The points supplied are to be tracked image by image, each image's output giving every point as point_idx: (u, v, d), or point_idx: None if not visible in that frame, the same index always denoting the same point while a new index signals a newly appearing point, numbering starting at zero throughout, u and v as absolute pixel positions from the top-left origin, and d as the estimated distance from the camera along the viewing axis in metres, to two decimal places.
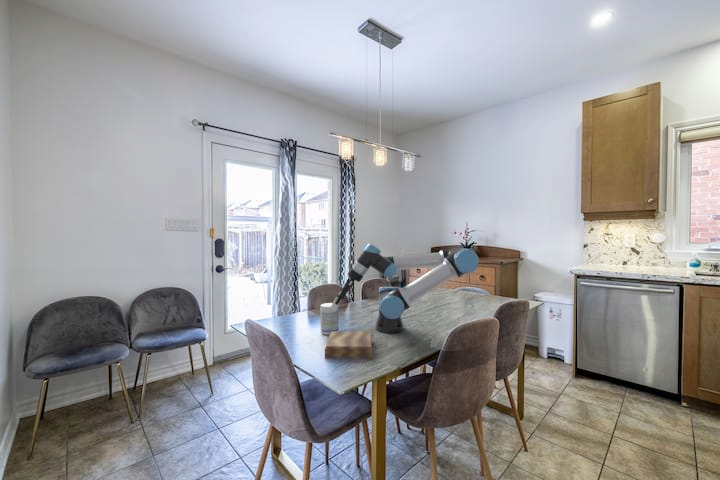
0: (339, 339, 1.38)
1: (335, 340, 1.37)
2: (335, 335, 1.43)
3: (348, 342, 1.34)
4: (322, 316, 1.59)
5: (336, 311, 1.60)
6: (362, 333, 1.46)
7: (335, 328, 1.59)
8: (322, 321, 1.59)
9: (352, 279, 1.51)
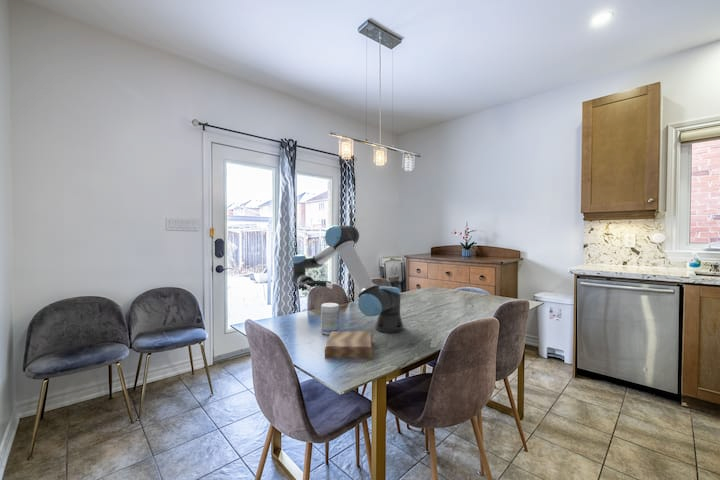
0: (339, 339, 1.38)
1: (335, 340, 1.37)
2: (335, 335, 1.43)
3: (348, 342, 1.34)
4: (322, 316, 1.59)
5: (336, 311, 1.59)
6: (362, 333, 1.46)
7: (335, 328, 1.59)
8: (322, 321, 1.59)
9: (302, 283, 1.82)
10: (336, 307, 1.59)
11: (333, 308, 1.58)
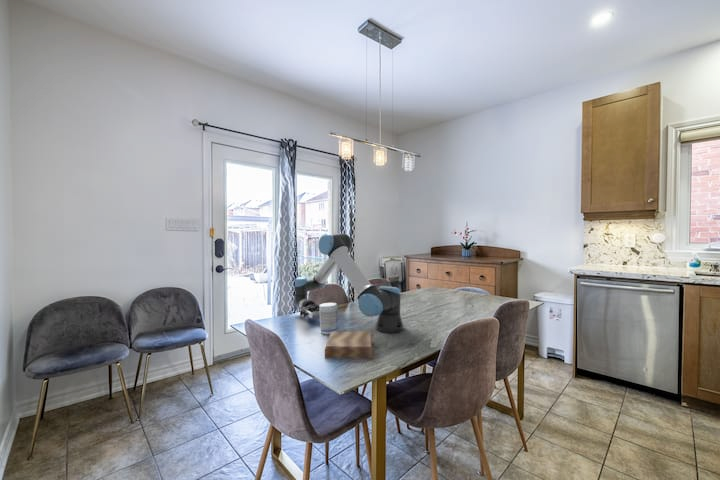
0: (339, 339, 1.38)
1: (335, 340, 1.37)
2: (335, 335, 1.43)
3: (348, 342, 1.34)
4: (320, 316, 1.60)
5: (334, 311, 1.59)
6: (362, 333, 1.46)
7: (333, 327, 1.59)
8: (321, 321, 1.60)
9: None
10: (333, 306, 1.59)
11: (330, 307, 1.58)
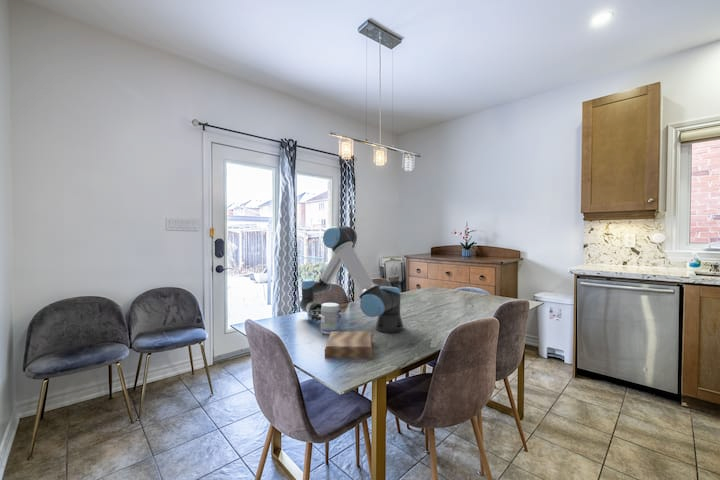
0: (339, 339, 1.38)
1: (335, 340, 1.37)
2: (335, 335, 1.43)
3: (348, 342, 1.34)
4: (322, 315, 1.60)
5: (335, 311, 1.59)
6: (362, 333, 1.46)
7: (333, 328, 1.58)
8: None
9: (311, 312, 1.72)
10: (335, 307, 1.59)
11: (332, 308, 1.58)
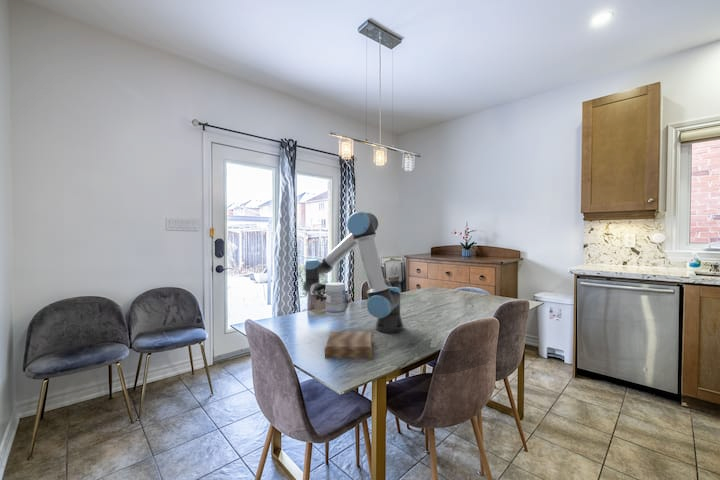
0: (339, 339, 1.38)
1: (335, 340, 1.37)
2: (335, 335, 1.43)
3: (348, 342, 1.34)
4: None
5: (341, 290, 1.45)
6: (362, 333, 1.46)
7: (339, 309, 1.44)
8: (326, 301, 1.46)
9: None
10: (341, 286, 1.45)
11: (337, 287, 1.44)
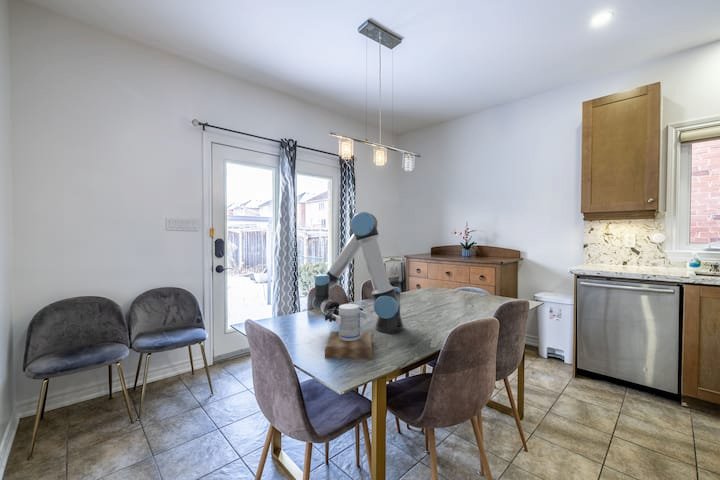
0: (339, 339, 1.38)
1: (335, 340, 1.37)
2: (335, 335, 1.43)
3: (348, 342, 1.34)
4: None
5: (356, 314, 1.35)
6: (362, 333, 1.46)
7: (354, 334, 1.35)
8: (340, 325, 1.36)
9: (328, 311, 1.48)
10: (355, 309, 1.35)
11: (352, 310, 1.34)
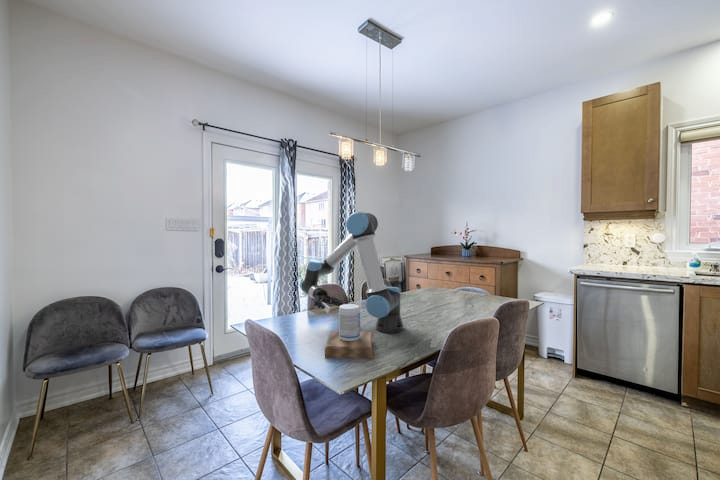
0: (339, 339, 1.38)
1: (335, 340, 1.37)
2: (335, 335, 1.43)
3: (348, 342, 1.34)
4: (340, 319, 1.36)
5: (356, 314, 1.36)
6: (362, 333, 1.46)
7: (355, 334, 1.35)
8: (340, 325, 1.37)
9: None
10: (356, 309, 1.36)
11: (352, 310, 1.35)
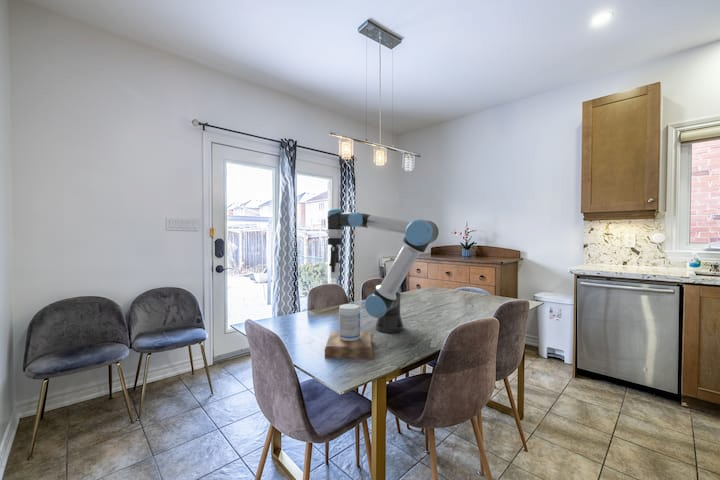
0: (339, 339, 1.38)
1: (335, 340, 1.37)
2: (335, 335, 1.43)
3: (348, 342, 1.34)
4: (340, 319, 1.36)
5: (356, 314, 1.36)
6: (362, 333, 1.46)
7: (355, 334, 1.35)
8: (340, 325, 1.37)
9: (333, 245, 1.64)
10: (356, 309, 1.36)
11: (352, 310, 1.35)
